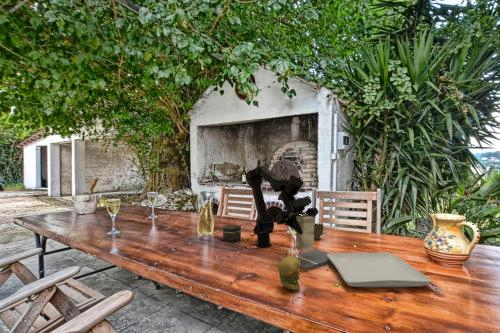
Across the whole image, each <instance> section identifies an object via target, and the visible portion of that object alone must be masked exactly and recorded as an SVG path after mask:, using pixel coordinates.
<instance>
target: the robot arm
mask: <svg viewBox="0 0 500 333" xmlns="http://www.w3.org/2000/svg"><path fill="white" fill-rule="evenodd" d="M245 179H246V183H247V185H248V186H249V187H250V188H251V191H252V195H253V200H254V204H255V208H256V213H257V217H256V220H255V226H254V227H253V233H254V234H255V235H256V236H257V237H256V239H257V241H256V242H257V243H254V246H257V247H259V248H261V249H262V248H267V247H272V246H273V244H272V243H271V238H270V236H271V234H273V232H274V228H275V222H276V224H277V225H284V226H287V227H289V228H290V229H292V230H294V231H295V233H296V232H298V233H299V234H300V235H302V234H303V233H302V230H301V228H300V226H299V224H298V222H297V219H296V216H301V215H299V214H302V215H303V214H305V213H306V214H305V215H307V216H311V217H314V219H315V218H316V216H317V215H318V213H319V212H320V211H319V210H318V208H317V207H309V208H307V210H306V211H304V210H305V209H306V207H307V206H310V204H312V199H311V197H310V196H309V195H306V196H304V197H298V198H296V197H295V196H296V195H298V193H299V192H300V191H301V189H302V187H303V186H304V185H305V184H304V181H303V180H302V179H301V178H300V177H297V176H296V175H295V174H291V175H290V176H289V178H285V177H281V176H277V175H276V174H275V173H274V172H272V171H271V170H270V169H268V168H267V167H266V166H265V165H263V166H261V165H260V166H256V167H254V168H253V169H250V170H248V171H247V172H246V173H245ZM263 180H265V181H266V182H267V183H269V184H270V188H271V189H272V190H273V192H274V193H280V194H278V197H277V201H281V202H282V204H283V205H284V207H283V211H279V213H278V214H277V216H276V217H275V222H274V218H273V215H272V214H269V213H268V210H267V205H266V202H265V198H264V193H263V190H262V189H263V188H262V183H263Z"/></svg>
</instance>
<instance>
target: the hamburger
mask: <svg viewBox="0 0 500 333" xmlns="http://www.w3.org/2000/svg"><path fill="white" fill-rule="evenodd" d="M281 255H282V256H283V258H282V259H281V260H280V261H279V263H278V272H279V273H278V275H279V277H278V278H279V281H280V283H281V285H282V286H284V287H285V288H286V289H289V290H291V291H299V289H301V285H300V275H301V274H300V271H299V268H300V266H301V263H300V260H299V259H298V258H297V257H295V256H293V255H288V256H285V253H282V254H281Z"/></svg>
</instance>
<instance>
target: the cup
mask: <svg viewBox="0 0 500 333" xmlns="http://www.w3.org/2000/svg"><path fill="white" fill-rule="evenodd" d="M323 233H324V224H323V223H318V222H317V223H316V222H314V241H315V240H317V241H318V240H320V239H321V236H323Z"/></svg>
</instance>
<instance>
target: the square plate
mask: <svg viewBox="0 0 500 333" xmlns="http://www.w3.org/2000/svg"><path fill="white" fill-rule="evenodd" d="M328 253H329V254H326V255H327V257H328V258H329V259H330V261H331V262H332V263H331V264H333V265H334V267H335V268H336V270H337V271H338V273H339V275H340V276H341V278H342V280H343V281H344V282H345V283H346V285H347V286H350V287H356V288H358V287H359V288H408V287H424V286H427V285H429V284H431V283H432V282H433V281H432V279H430V278H429V277H427V276H426V275H425V274H423V273H422V272H421V271H420V270H418V269H416V268H415V267H413V266H412V265H411V264H409V263H407V261H405V260H403V259H401V258H400V257H398V256H397V255H395V254H394V253H391V252H337V253H335V252H333V253H332V252H331V253H330V252H328Z"/></svg>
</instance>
